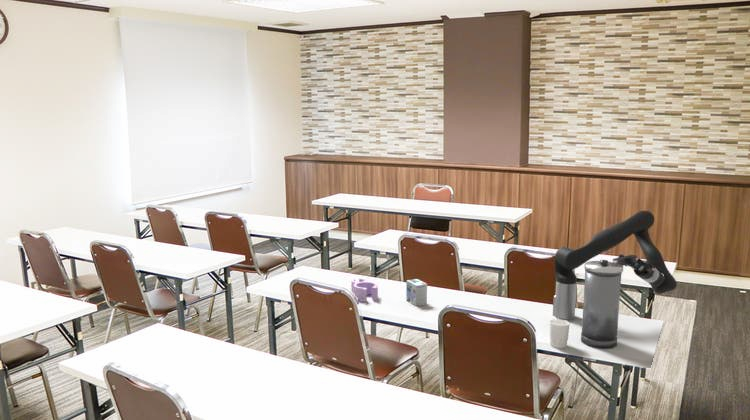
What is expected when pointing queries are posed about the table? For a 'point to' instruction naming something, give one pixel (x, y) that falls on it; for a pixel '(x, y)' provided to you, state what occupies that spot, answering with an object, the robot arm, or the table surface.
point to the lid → (610, 265)
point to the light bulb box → (416, 292)
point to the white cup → (559, 333)
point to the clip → (364, 289)
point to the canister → (601, 309)
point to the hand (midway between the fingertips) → (628, 258)
